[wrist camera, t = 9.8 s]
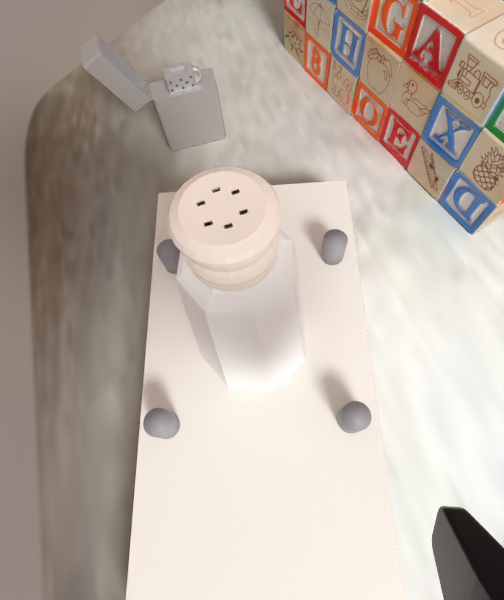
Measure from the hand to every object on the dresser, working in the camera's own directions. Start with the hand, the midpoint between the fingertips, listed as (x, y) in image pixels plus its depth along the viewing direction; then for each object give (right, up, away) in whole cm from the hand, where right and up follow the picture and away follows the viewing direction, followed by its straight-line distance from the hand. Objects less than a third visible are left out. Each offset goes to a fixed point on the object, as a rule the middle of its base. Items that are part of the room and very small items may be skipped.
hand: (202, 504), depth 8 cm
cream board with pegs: (+1, -1, +14) cm, 14 cm away
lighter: (-4, +16, +21) cm, 27 cm away
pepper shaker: (+1, +2, +12) cm, 12 cm away
